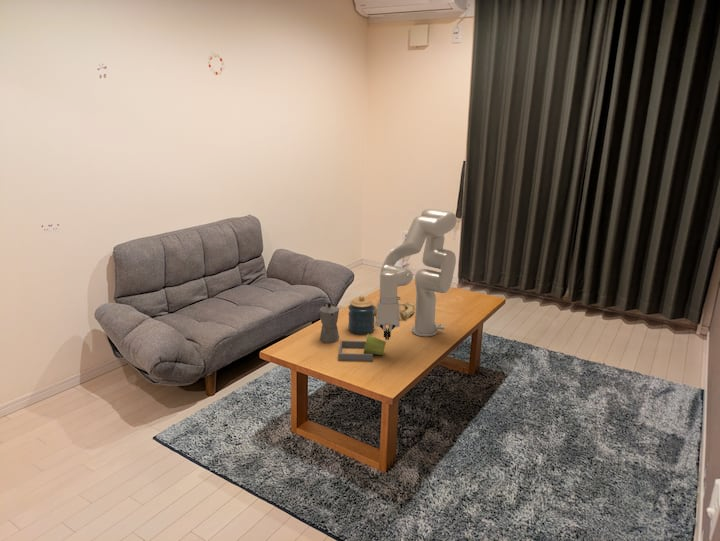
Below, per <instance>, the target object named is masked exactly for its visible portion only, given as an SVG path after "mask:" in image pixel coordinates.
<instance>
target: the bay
mask: <svg viewBox="0 0 720 541" xmlns="http://www.w3.org/2000/svg"><path fill="white" fill-rule="evenodd" d="M365 344H366V340H364V341H363V340H362V341H361V340H340V343H339V350H338V357H337V358H338V360H337V361H344V362H345V361H349V362H352V361H353V362H354V361H357V362H373V360H374V357H373V356H374V354H363V353H352V352H349V353H348V352H347V353H345V352H343V348H345V349H346V348H347V349H349V348H351V349H353V348H354V349H364V348H365ZM342 352H343V353H342Z"/></svg>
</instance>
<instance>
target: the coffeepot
mask: <svg viewBox="0 0 720 541" xmlns="http://www.w3.org/2000/svg"><path fill="white" fill-rule="evenodd" d="M318 310H319V315H320V316H319V317H320V322H321V324H322V325H321V330H320V336H319V340H320V341H321V342H323V343H327V344H329V343H330V344H332V343H336V342H338V341H339V339H340V335H339V334H340V333H339V329H338V326H337V324H338V319H339V313H340V312H339V311H340V308H339V307H337V306H335V305H334V306H333V305H332V303H330V302H329V303H327V302H325V303H324V304H323V306H321V307H320V309H318Z"/></svg>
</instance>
